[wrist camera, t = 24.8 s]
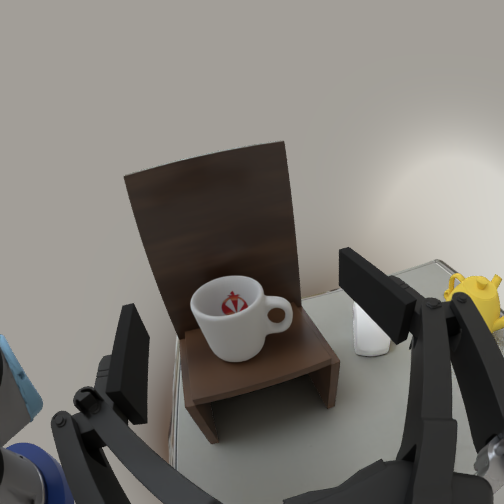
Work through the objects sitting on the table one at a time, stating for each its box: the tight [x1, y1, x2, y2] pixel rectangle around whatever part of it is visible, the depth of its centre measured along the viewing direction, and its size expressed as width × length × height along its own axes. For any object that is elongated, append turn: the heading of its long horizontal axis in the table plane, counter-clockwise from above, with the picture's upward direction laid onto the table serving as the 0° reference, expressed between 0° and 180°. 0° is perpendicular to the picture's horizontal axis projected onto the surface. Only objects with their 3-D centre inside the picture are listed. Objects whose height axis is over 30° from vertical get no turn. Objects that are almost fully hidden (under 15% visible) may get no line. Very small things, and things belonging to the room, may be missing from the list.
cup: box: [190, 276, 293, 362], centre depth 30 cm, size 11×8×8 cm
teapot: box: [444, 273, 504, 333], centre depth 36 cm, size 14×14×11 cm
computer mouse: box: [353, 302, 391, 356], centre depth 44 cm, size 6×13×6 cm, turn 166°
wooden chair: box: [124, 141, 340, 444], centre depth 31 cm, size 13×18×34 cm
